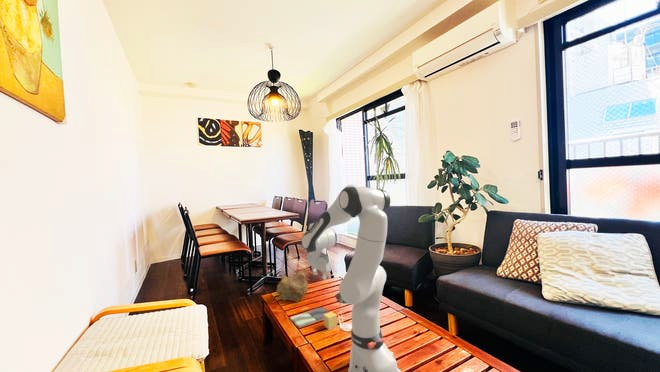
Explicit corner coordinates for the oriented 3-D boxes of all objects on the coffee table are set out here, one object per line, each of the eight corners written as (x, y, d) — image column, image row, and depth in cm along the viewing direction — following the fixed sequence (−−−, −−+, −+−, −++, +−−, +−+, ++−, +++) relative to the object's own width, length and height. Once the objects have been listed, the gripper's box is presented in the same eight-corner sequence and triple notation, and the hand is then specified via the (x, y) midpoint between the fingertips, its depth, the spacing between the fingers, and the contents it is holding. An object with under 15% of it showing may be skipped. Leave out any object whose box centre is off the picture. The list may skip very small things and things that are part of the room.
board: (333, 315, 150) (333, 314, 150) (299, 328, 139) (299, 326, 139) (322, 307, 160) (322, 306, 160) (289, 318, 149) (289, 317, 149)
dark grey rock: (330, 297, 175) (344, 306, 163) (329, 291, 175) (343, 299, 163) (352, 290, 186) (367, 297, 173) (352, 284, 186) (367, 291, 173)
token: (337, 326, 139) (336, 315, 139) (329, 329, 136) (328, 318, 136) (332, 322, 143) (331, 311, 143) (323, 325, 140) (323, 314, 140)
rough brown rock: (291, 310, 161) (292, 285, 160) (272, 301, 171) (273, 277, 170) (316, 297, 179) (317, 275, 179) (298, 289, 189) (299, 268, 189)
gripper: (333, 253, 140) (335, 280, 140) (314, 247, 157) (315, 271, 157) (322, 256, 136) (324, 283, 136) (304, 249, 154) (305, 273, 154)
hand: (319, 276), depth 147 cm, fingers open, 8 cm apart
